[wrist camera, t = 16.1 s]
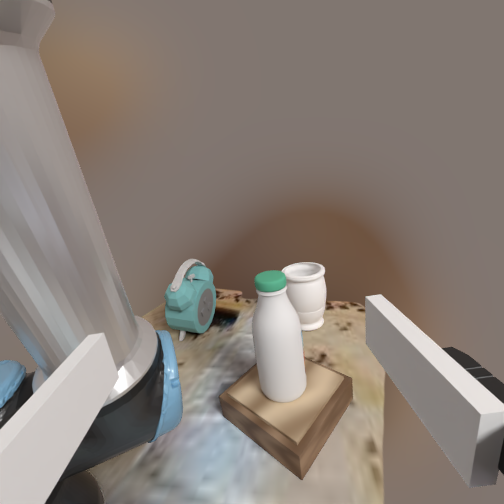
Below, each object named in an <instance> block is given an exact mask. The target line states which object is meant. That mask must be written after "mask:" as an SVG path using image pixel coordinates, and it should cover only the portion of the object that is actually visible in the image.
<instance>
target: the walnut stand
mask: <svg viewBox="0 0 504 504" xmlns="http://www.w3.org/2000/svg"><path fill="white" fill-rule="evenodd" d="M304 358H305V357H304ZM305 369H306V383H307V384H306V389H305V391H304V392H303V394H302V395H301V396H300V397H299V398H298V399H296V400H294V401H291V402H287V403H279V402H275V401H273V400H270V399H269V398H268V397H267V396H266V395H265V394H264V393H263V391H262V389H261V386H260V380H259V374H258V368H257V363H256V364H255V365H254V366H253V367H252V368H251V369H249V370H248V371H247V372H246V373H245V374H244V375H243V376H242V377H240V378H239V379H238V380H237V381H236V382H235V383H234V384H232V385H231V386H230V387H229V388H228V389H227V390H226V391H225V392H223V393H222V394H221V395H220V396H219V398H220V403H221V407H222V412H223V416H224V417H225V418H226V419H227V420H229V421H230V422H231V423H232V424H234V425H235V426H236V427H237V428H239V429H240V430H241V431H242V432H243V433H245V434H246V435H247V436H248V437H250V438H251V439H252V440H253V441H254V442H256V443H257V444H258V445H259V446H261V447H262V448H263V449H264V450H265V451H267V452H268V453H269V454H270V455H272V456H273V457H274V458H275V459H277V460H278V461H279V462H280V463H281V464H283V465H284V466H285V467H286V468H288V469H289V470H290V471H291V472H292V473H294V474H295V475H296V476H297V477H299V478H300V479H301V480H303V478H304V476H305V475H306V473H307V472H308V470H309V468H310V467H311V465H312V463H313V462H314V460H315V459H316V457H317V455H318V454H319V452H320V451H321V449H322V447H323V446H324V444H325V443H326V441H327V439H328V438H329V436H330V434H331V433H332V431H333V430H334V428H335V426H336V425H337V423H338V422H339V420H340V418H341V417H342V415H343V414H344V412H345V410H346V409H347V407H348V405H349V404H350V402H351V401H352V399H353V390H352V378H351V377H348V376H346V375H344V374H342V373H339V372H337V371H335V370H332V369H330V368H328V367H326V366H323V365H321V364H319V363H317V362H314V361H312V360H310V359H308V358H305Z"/></svg>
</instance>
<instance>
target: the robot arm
mask: <svg viewBox="0 0 504 504" xmlns="http://www.w3.org/2000/svg"><path fill="white" fill-rule="evenodd" d="M54 18H55V11H54V8H53V4H52V1H51V0H0V314H1V316H2V317H3V318H4V320H5V321H6V322H7V324H8V325H9V326H10V328H11V329H12V330H13V332H14V333H15V334H16V336H17V337H18V339H19V340H20V341H21V343H22V344H23V345H24V347H25V348H26V349H27V350H28V352H29V353H30V355H31V356H32V357H33V359H34V360H35V361H36V363H37V364H38V367H37V369H36V371H35V372H32V373H28V374H27V373H26V368H25V367H24V365H21V364H20V363H19V362H17V361H10V360H3V361H0V504H104V500H103V496H102V493H101V490H100V488H99V486H98V484H97V482H96V480H95V479H94V477H93V476H92V475H91V474H90V473H88V472H87V471H85V470H87V469H89V468H91V467H94V466H96V465H98V464H100V463H102V462H105V461H107V460H109V459H111V458H113V457H116V456H118V455H120V454H122V453H124V452H127V451H129V450H131V449H133V448H135V447H138V446H140V445H142V444H144V443H146V442H148V443H151V442H154V441H155V440H156V439H157V438H158V437H159V436H161V435H163V434H165V433H167V432H169V431H171V430H173V429H174V428H175V427H176V426H177V425H178V424H179V423H180V421H181V418H182V413H183V405H182V393H181V386H180V382H179V375H178V366H177V360H176V355H175V350H174V346H173V342H172V338H171V335H170V333H169V332H168V331H166V330H162V331H159V330H156V331H155V330H154V328H153V327H152V325H151V324H150V323H149V322H148V321H147V320H145V319H143V318H141V317H139V316H135V315H133V312H132V309H131V306H130V304H129V301H128V298H127V295H126V293H125V290H124V287H123V284H122V282H121V279H120V276H119V273H118V271H117V268H116V265H115V262H114V259H113V257H112V254H111V251H110V248H109V246H108V243H107V240H106V238H105V235H104V232H103V229H102V227H101V224H100V221H99V218H98V215H97V213H96V210H95V207H94V204H93V202H92V199H91V196H90V194H89V191H88V188H87V185H86V182H85V180H84V177H83V174H82V171H81V168H80V166H79V163H78V160H77V158H76V155H75V152H74V149H73V147H72V144H71V141H70V138H69V135H68V133H67V130H66V127H65V125H64V122H63V119H62V116H61V113H60V111H59V108H58V105H57V102H56V100H55V97H54V94H53V91H52V88H51V86H50V83H49V80H48V78H47V75H46V72H45V69H44V66H43V64H42V61H41V58H40V55H39V45H40V41H41V39H42V38H43V36H44V34H45V33H46V31H47V29H48V28H49V26H50V24H51V23H52V21H53V19H54ZM365 298H366V344H367V346H368V347H369V349H370V350H371V351H372V353H373V354H374V356H375V357H376V358H377V360H378V361H379V363H380V364H381V365H382V367H383V368H384V370H385V371H386V372H387V374H388V375H389V377H390V378H391V379H392V380H393V382H394V383H395V385H396V386H397V388H398V389H399V391H400V392H401V393H402V395H403V396H404V397H405V399H406V400H407V402H408V403H409V404H410V406H411V407H412V409H413V410H414V411H415V413H416V414H417V416H418V417H419V418H420V420H421V421H422V423H423V424H424V425H425V427H426V428H427V430H428V431H429V432H430V434H431V435H432V437H433V438H434V439H435V441H436V442H437V443H438V445H439V446H440V448H441V449H442V451H443V452H444V453H445V455H446V456H447V458H448V459H449V460H450V462H451V463H452V465H453V466H454V467H455V468H456V470H457V471H458V473H459V474H460V476H461V477H462V478H463V480H464V481H465V483H466V484H467V485H468V487H469V488H471V487H480V486H487V485H495V484H496V481H497V476H498V471H499V470H500V471H501V472H502V473H503V474H504V384H503V383H502V382H500V381H499V380H498V379H497V378H496V377H493V375H492V374H491V373H490V372H488V371H487V370H486V369H485V368H482V367H481V365H480V364H478V363H477V362H476V361H475V360H474V359H473V358H471V357H470V356H469V355H467V354H465V353H463V352H461V351H459V350H457V349H455V348H453V347H448V348H440V347H439V346H438V345H437V344H436V343H435V342H434V341H432V340H431V339H430V338H429V337H428V336H427V335H426V334H425V333H424V332H422V331H421V330H420V329H419V328H418V327H417V326H416V325H415V324H413V323H412V322H411V321H410V320H409V319H408V318H407V317H406V316H404V315H403V314H402V313H401V312H400V311H399V310H398V309H397V308H395V307H394V306H393V305H392V304H391V303H390V302H389V301H388V300H387V299H385V298H384V297H383V296H382V295H381V294H380V295H373V296H366V297H365Z"/></svg>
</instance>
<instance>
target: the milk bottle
mask: <svg viewBox="0 0 504 504" xmlns="http://www.w3.org/2000/svg"><path fill="white" fill-rule="evenodd" d="M286 284H287V282H286V276H285V274H284V273H283V272H281V271H265V272H262V273H259V274H258V275H257V276H256V277H255V287H256V292H257V293H258V302H257V306H256V309H255V312H254V316H253V321H252V333H253V342H254V348H255V355H256V362H257V368H258V374H259V380H260V386H261V389H262V391H263V393H264V394H265V395H266V396H267V397H268V398H269V399H270V400H273V401H275V402H279V403H287V402H291V401H294V400H296V399H298V398H299V397H300V396H301V395H302V394H303V392H304V391H305V389H306V384H307V383H306V369H305V358H304V348H303V338H302V330H301V324H300V320H299V317H298V314H297V312H296V310H295V309H294V307H293V306H292V304H291V303H290V301H289V299H288V297H287V294H286V289H287V286H286Z"/></svg>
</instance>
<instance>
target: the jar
mask: <svg viewBox="0 0 504 504" xmlns="http://www.w3.org/2000/svg"><path fill="white" fill-rule="evenodd" d="M282 272H283V273H284V274H285V276H286V282H287V284H286V286H287V289H286V294H287V297H288V299H289V301H290V303H291V304H292V306H293V307H294V309H295V310H296V312H297V314H298V317H299V320H300V324H301V330H303V331H311V330H315V329H318V328H319V327H321V326H322V325H323V323H324V319H323V317H322V315H323V313H324V309H325V301H326V285H325V280H324V277H323V275H324V273H325V268H324V266H322V265H320V264H317V263H311V262H307V263H306V262H303V263H296V264H292V265H289V266H287V267H285V268H284V269H283V270H282Z"/></svg>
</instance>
